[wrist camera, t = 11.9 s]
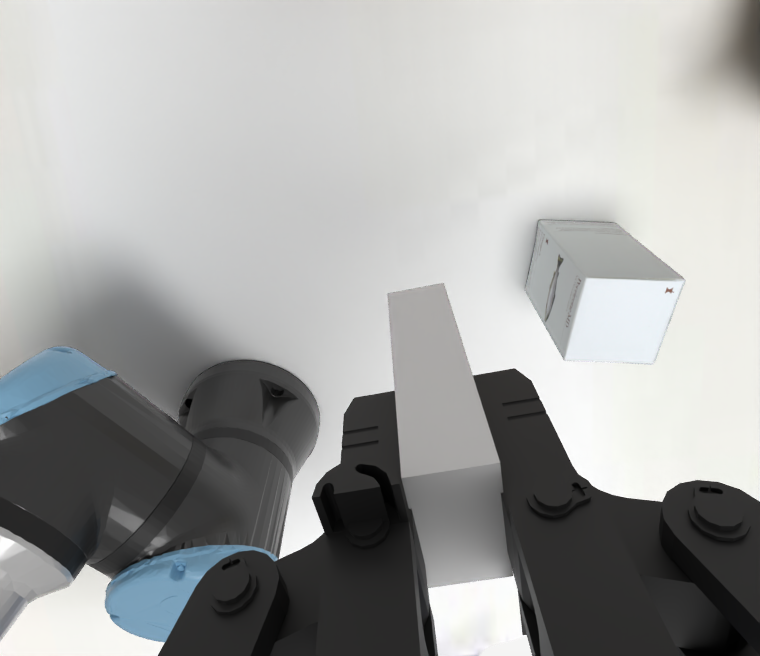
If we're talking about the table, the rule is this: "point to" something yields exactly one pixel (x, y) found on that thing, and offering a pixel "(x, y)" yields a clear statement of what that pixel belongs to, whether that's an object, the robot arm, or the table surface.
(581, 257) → the supplement box
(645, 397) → the table surface
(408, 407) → the robot arm
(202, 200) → the table surface
